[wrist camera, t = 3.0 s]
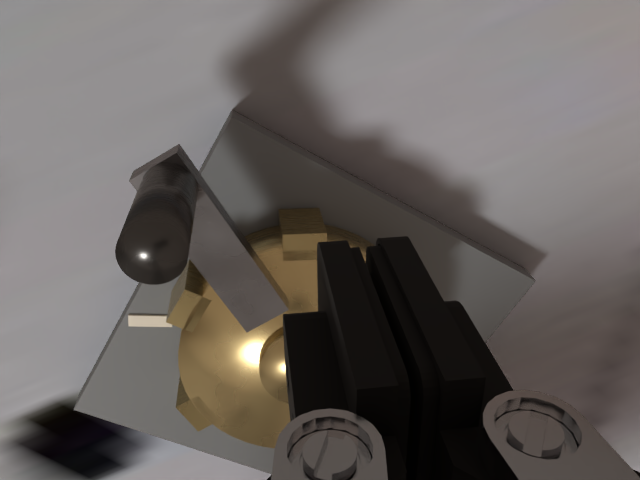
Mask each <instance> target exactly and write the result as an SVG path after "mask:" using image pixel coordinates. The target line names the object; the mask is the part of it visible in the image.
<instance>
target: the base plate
mask: <svg viewBox="0 0 640 480" xmlns="http://www.w3.org/2000/svg"><path fill="white" fill-rule="evenodd" d="M199 173H200V174H201V176H202V177H203V178H204V180H205V181H206V183H207V184H208V186H209V187H210V188H211V190H212V191H213V193H214V194H215V196H216V197H217V198H218V200H219V201H220V203H221V204H222V205H223V207H224V208H225V210H226V211H227V213H228V214H229V215H230V217H231V218H232V220H233V221H234V222H235V224H236V225H237V227H238V228H239V230H240V231H241V232H242V234H243V235H244V236H246V235H248V234H250V233H253V232H256V231H259V230H261V229H264V228H268V227H272V226H277V225H279V217H278V209H293V208H319V209H320V212H321V215H322V219H323V222H324V225H330V226H334V227H338V228H341V229H345V230H347V231H350V232H352V233H354V234H357V235H359V236H361V237H362V238H364V239H366V240H367V241H369V242H371V243H372V244H373V245H374V246H376V241H377V239H378V238H387V237H402V236H408V237H409V239H410V241H411V242H412V244H413V246H414V248H415V250H416V251H417V253H418V255H419V257H420V259H421V260H422V262H423V264H424V266H425V268H426V270H427V271H428V273H429V275H430V277H431V279H432V280H433V282H434V284H435V286H436V288H437V289H438V291H439V293H440V295H441V297H442V298H443V300H444V301H454V300H456V301H459V302H460V303H461V304H462V305H463V307H464V308H465V310H466V312H467V313H468V315H469V317H470V319H471V320H472V322H473V324H474V325H475V327H476V329H477V330H478V332H479V334H480V335H481V337H482V339H483V340H484V342H486V341H487V340H488V339H489V337H490V336H491V335H492V334H493V332H494V331H495V330H496V329H497V328H498V326H499V325H500V324H501V323H502V321H503V320H504V319H505V318H506V317H507V315H508V314H509V313H510V312H511V310H512V309H513V308H514V307H515V306H516V304H517V303H518V302H519V301H520V299H521V298H522V297H523V296H524V295H525V293H526V292H527V291H528V290H529V288H530V287H531V286H532V285H533V284H534V282H535V279H534V278H533V277H532V276H531V275H530V274H529V273H528V272H527V270H526V269H524V268H522V267H520V266H519V265H517V264H515V263H513V262H511V261H509V260H507V259H506V258H504V257H502V256H500V255H498V254H496V253H495V252H493V251H491V250H489V249H487V248H485V247H484V246H482V245H480V244H478V243H476V242H474V241H472V240H471V239H469V238H467V237H465V236H463V235H461V234H460V233H458V232H456V231H454V230H452V229H450V228H449V227H447V226H445V225H443V224H441V223H439V222H437V221H436V220H434V219H432V218H430V217H428V216H426V215H425V214H423V213H421V212H419V211H417V210H415V209H414V208H412V207H410V206H408V205H406V204H404V203H402V202H401V201H399V200H397V199H395V198H393V197H391V196H390V195H388V194H386V193H384V192H382V191H380V190H378V189H377V188H375V187H373V186H371V185H369V184H367V183H366V182H364V181H362V180H360V179H358V178H356V177H355V176H353V175H351V174H349V173H347V172H345V171H343V170H342V169H340V168H338V167H336V166H334V165H332V164H331V163H329V162H327V161H325V160H323V159H321V158H320V157H318V156H316V155H314V154H312V153H310V152H308V151H307V150H305V149H303V148H301V147H299V146H297V145H296V144H294V143H292V142H290V141H288V140H286V139H285V138H283V137H281V136H279V135H277V134H275V133H273V132H272V131H270V130H268V129H266V128H264V127H262V126H261V125H259V124H257V123H255V122H253V121H251V120H250V119H248V118H246V117H244V116H242V115H240V114H238V113H237V112H235V111H233V110H232V111H231V113H230V115H229V116H228V118H227V120H226V122H225V124H224V126H223V128H222V129H221V131H220V133H219V135H218V137H217V139H216V141H215V142H214V144H213V146H212V148H211V150H210V152H209V154H208V155H207V157H206V159H205V161H204V163H203V165H202V167H201V168H200V170H199ZM188 261H189V257H188ZM188 261H187V262H188ZM180 275H181V274H180ZM180 275H179V276H178V277H177V278H175V279H174V280H172V281H170V282H167V283H164V284H158V285H150V284H144V283H140V282H139V284H138V285H137V287H136V289H135V291H134V293H133V295H132V297H131V299H130V300H129V302H128V304H127V306H126V308H125V310H124V312H123V313H122V315H121V317H120V319H119V321H118V323H117V325H116V326H115V328H114V330H113V332H112V334H111V336H110V338H109V339H108V341H107V343H106V345H105V347H104V349H103V351H102V352H101V354H100V356H99V358H98V360H97V362H96V364H95V365H94V367H93V369H92V371H91V373H90V375H89V377H88V378H87V380H86V382H85V384H84V386H83V388H82V390H81V391H80V393H79V396H78V399H77V402H76V405H75V408H74V410H77V411H80V412H83V413H86V414H89V415H92V416H95V417H98V418H101V419H104V420H107V421H110V422H113V423H116V424H119V425H122V426H126V427H129V428H132V429H135V430H138V431H141V432H144V433H147V434H150V435H153V436H156V437H159V438H162V439H165V440H168V441H172V442H175V443H178V444H181V445H184V446H187V447H190V448H193V449H196V450H199V451H202V452H205V453H208V454H211V455H214V456H218V457H221V458H224V459H227V460H230V461H233V462H236V463H239V464H242V465H245V466H248V467H251V468H254V469H257V470H260V471H264V472H267V473H270V474H272V467H273V459H274V451H275V448H268V447H262V446H258V445H254V444H250V443H247V442H244V441H242V440H239V439H237V438H234V437H232V436H230V435H228V434H226V433H225V432H223V431H221V430H220V429H218V428H217V427H215V426H214V425H213V424H212V425H210V426H208V427H206V428H204V429H203V430H201V431H199V432H198V431H197V430H196V429H195V428H194V427H193V426H192V425H191V423H190V422H189V421H188V420H187V419H186V418H185V417H184V416H183V415H182V414H181V413H180V412H179V411H178V410H177V408H176V401H177V393H178V385H179V378H180V372H179V366H178V350H179V343H180V336H181V329H182V328H179V327H177V326H174V325H172V324H169V323H166V319H167V314H168V308H169V303H170V297H171V292H172V289H173V287H174V285H175V284H176V282H177V280H178V278H179V277H180Z"/></svg>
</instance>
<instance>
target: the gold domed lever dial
mask: <svg viewBox="0 0 640 480" xmlns="http://www.w3.org/2000/svg"><path fill="white" fill-rule="evenodd" d="M129 181H130V183H131V184H132V185H133V186H134V188H135V189H136V190H137V194H136V196H135V199H134V201H133V204H132V206H131V209H130V211H129V214H128V216H127V219H126V221H125V224H124V226H123V229H122V231H121V234H120V236H119V239H118V242H117V244H116V250H115V253H116V259H117V262H118V264H119V266H120V268H121V269H122V271H123V272H124V273H125V274H126V275H127V276H129V277H130V278H132V279H133V280H135V281H137V282H140V283H144V284H150V285H158V284H164V283H167V282H170V281H172V280H174V279H175V278H177V277H178V276H179V275H180V274H181V275H180V277H179V278H178V280H177V282H176V284H175V285H174V287H173V289H172V292H171V297H170V303H169V308H168V314H167V319H166V323H169V324H172V325H174V326H177V327H179V328H182V329H181V336H180V343H179V350H178V366H179V372H180V378H179V385H178V393H177V401H176V408H177V410H178V411H179V412H180V413H181V414H182V415H183V416H184V417H185V418H186V419H187V420H188V421H189V422H190V423H191V425H192V426H193V427H194V428H195V429H196V430H197V431H198V432H199V431H201V430H203V429H204V428H206V427H208V426H210V425H212V424H213V425H214V426H215V427H217V428H218V429H220V430H221V431H223V432H225V433H226V434H228V435H230V436H232V437H234V438H237V439H239V440H242V441H244V442H247V443H250V444H254V445H258V446H262V447H268V448H275V446H276V443H277V439H278V436H279V434H280V433H281V431H282V430H283V429H284V428H285V426H286V425H287V424H288V423H289V422H290V412H289V403H288V393H287V382H286V370H285V355H284V335H283V314H292V313H304V312H317V311H318V287H317V244H318V242H328V241H343V240H347V241H348V243H349V246H350V248H352V247H359V248H360V250H361V253H362V255H363V258H364V260H365V263H366V249H367V246H374V245H373V244H372V243H371V242H369V241H367V240H366V239H364V238H362V237H361V236H359V235H357V234H354V233H352V232H350V231H347V230H345V229H341V228H338V227H334V226H330V225H324V222H323V219H322V215H321V212H320V209H319V208H293V209H278V217H279V225H277V226H272V227H268V228H264V229H261V230H259V231H256V232H253V233H250V234H248V235H246V236H244V235H243V234H242V232H241V231H240V230H239V228H238V227H237V225H236V224H235V222H234V221H233V220H232V218H231V217H230V215H229V214H228V213H227V211H226V210H225V208H224V207H223V205H222V204H221V203H220V201H219V200H218V198H217V197H216V196H215V194H214V193H213V191H212V190H211V188H210V187H209V186H208V184H207V183H206V181H205V180H204V178H203V177H202V176H201V174H200V173H199V171H198V170H197V169H196V167H195V166H194V164H193V163H192V161H191V160H190V159H189V157H188V156H187V154H186V153H185V151H184V150H183V149H182V147H181V146H180V144H178V145H177V146H175V147H173V148H172V149H170V150H168V151H166V152H165V153H163V154H161V155H160V156H158V157H156V158H155V159H153V160H151V161H150V162H148V163H146V164H145V165H143V166H141V167H139V168H138V169H136V170H134V171H133V173H132V175H131V178H130V180H129ZM188 257H189V261H188ZM187 261H188V262H187Z"/></svg>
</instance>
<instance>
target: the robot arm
mask: <svg viewBox="0 0 640 480" xmlns="http://www.w3.org/2000/svg"><path fill="white" fill-rule="evenodd" d="M317 287H318V311H317V312H304V313H292V314H283V335H284V355H285V370H286V382H287V393H288V403H289V412H290V422H289V423H288V424H287V425H286V426H285V428H284V429H283V430H282V431H281V433H280V434H279V436H278V439H277V443H276V446H275V451H274V459H273V467H272V475H271V476H270V477H269V478H268V479H267V480H640V473H639V472H637V471H635V470H633V469H632V468H631V467H630V466H629V465H628V464H627V463H626V462H625V461H624V460H623V459H622V458H621V457H620V455H619V454H618V453H617V452H616V451H615V450H614V449H613V448H612V447H611V446H610V445H609V444H608V442H607V441H606V440H605V439H604V438H603V437H602V436H601V435H600V434H599V433H598V432H597V431H596V429H595V428H594V427H593V426H592V425H591V424H590V423H589V422H588V421H587V420H586V419H585V418H584V416H583V415H581V414H580V413H579V412H578V411H577V410H576V409H574V408H573V407H572V406H571V405H569V404H567V403H566V402H564V401H562V400H560V399H558V398H556V397H554V396H551V395H548V394H545V393H541V392H537V391H528V390H516V391H513V389H512V387H511V386H510V384H509V382H508V381H507V379H506V377H505V376H504V374H503V372H502V370H501V369H500V367H499V365H498V364H497V362H496V360H495V359H494V357H493V355H492V354H491V352H490V350H489V349H488V347H487V345H486V344H485V342H484V340H483V339H482V337H481V335H480V334H479V332H478V330H477V329H476V327H475V325H474V324H473V322H472V320H471V319H470V317H469V315H468V313H467V312H466V310H465V308H464V307H463V305H462V304H461V303H460V302H459V301H456V300H454V301H444V300H443V298H442V297H441V295H440V293H439V291H438V289H437V288H436V286H435V284H434V282H433V280H432V279H431V277H430V275H429V273H428V271H427V270H426V268H425V266H424V264H423V262H422V260H421V259H420V257H419V255H418V253H417V251H416V250H415V248H414V246H413V244H412V242H411V241H410V239H409V237H408V236H402V237H387V238H378V239H377V241H376V246H367V249H366V263H365V260H364V258H363V255H362V253H361V250H360V248H359V247H352V248H350V246H349V243H348V241H347V240H343V241H328V242H318V244H317Z"/></svg>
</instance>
